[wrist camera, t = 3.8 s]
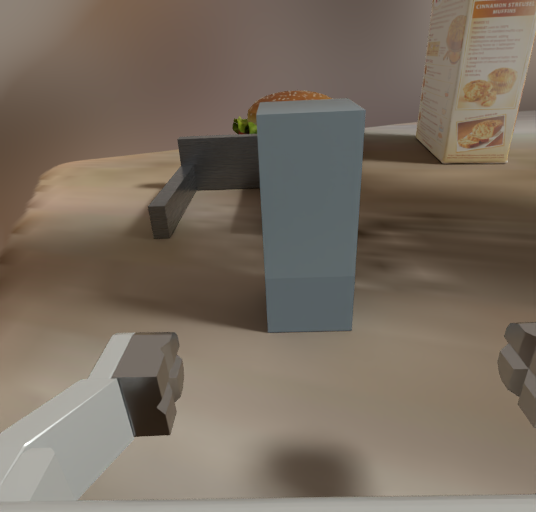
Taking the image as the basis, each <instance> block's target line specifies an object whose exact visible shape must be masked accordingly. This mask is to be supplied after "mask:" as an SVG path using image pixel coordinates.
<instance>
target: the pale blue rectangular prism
mask: <svg viewBox="0 0 536 512" xmlns="http://www.w3.org/2000/svg"><path fill="white" fill-rule="evenodd" d="M365 112H366V110H365V109H363V108H362V107H360V106H359V105H357V104H356V103H354V102H353V101H351V100H350V99H348V98H346V99H345V98H344V99H322V100H300V101H277V102H260V104H259V107H258V111H257V114H256V120H257V138H258V156H259V175H260V193H261V211H262V230H263V248H264V266H265V285H266V303H267V322H268V332H307V331H348V330H352V315H353V300H354V284H355V268H356V253H357V237H358V221H359V206H360V190H361V174H362V159H363V143H364V127H365Z"/></svg>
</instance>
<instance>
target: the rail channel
mask: <svg viewBox="0 0 536 512" xmlns="http://www.w3.org/2000/svg"><path fill="white" fill-rule="evenodd" d="M178 146H179V154H180V161H181V167H180V168H179V169H178V170H177V172H176V173H175V174H174V175H173V176H172V178H171V179H170V180H169V181H168V183H167V184H166V185H165V186H164V187H163V189H162V190H161V191H160V192H159V194H158V195H157V196H156V197H155V199H154V200H153V201H152V202H151V203H150V205H149V206H148V210H149V215H150V220H151V225H152V231H153V236H154V238H170V237H171V235H172V233H173V231H174V230H175V228H176V226H177V224H178V223H179V221H180V219H181V217H182V215H183V214H184V212H185V210H186V208H187V207H188V205H189V203H190V201H191V199H192V198H193V196H194V194H195V192H196V191H197V190H213V189H241V188H260V175H259V156H258V138H257V134H238V135H216V136H215V135H214V136H190V137H180V138H179V139H178Z"/></svg>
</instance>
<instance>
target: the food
mask: <svg viewBox="0 0 536 512" xmlns="http://www.w3.org/2000/svg"><path fill="white" fill-rule="evenodd" d="M322 99H332V98H330V97H328V96H326V95H323V94H320V93H316V92H309V91H283V92H278V93H275V94H271V95H268V96H265V97H263V98H260V100H258V101H256V102H255V103H254V104H253V105H252V107H251V108H250V109H249V110H248V114H247V115H248V118H247V119H241V118H240V117H239V118H238V119H234V122H236V123H237V124H236V123H233V130H234V131H235V132H236V133H237V134H257V120H256V114H257V111H258V107H259V104H260V102H277V101H300V100H322Z"/></svg>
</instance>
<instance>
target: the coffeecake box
mask: <svg viewBox="0 0 536 512" xmlns="http://www.w3.org/2000/svg"><path fill="white" fill-rule="evenodd" d="M535 35H536V0H433V4H432V12H431V20H430V29H429V36H428V45H427V52H426V61H425V68H424V76H423V85H422V93H421V101H420V109H419V116H418V124H417V132H416V138H417V139H418V140H419V141H420V142H421V143H422V144H423V145H424V146H425V147H426V148H427V149H428V150H429V151H430V152H431V153H432V154H434V155H435V156H436V157H437V158H438V159H439V160H440V161H441V162H442V163H444V164H449V163H482V164H484V163H507V157H508V153H509V148H510V144H511V140H512V135H513V131H514V126H515V122H516V118H517V113H518V109H519V105H520V100H521V96H522V92H523V87H524V83H525V79H526V74H527V70H528V66H529V61H530V57H531V53H532V48H533V44H534V40H535Z"/></svg>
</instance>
